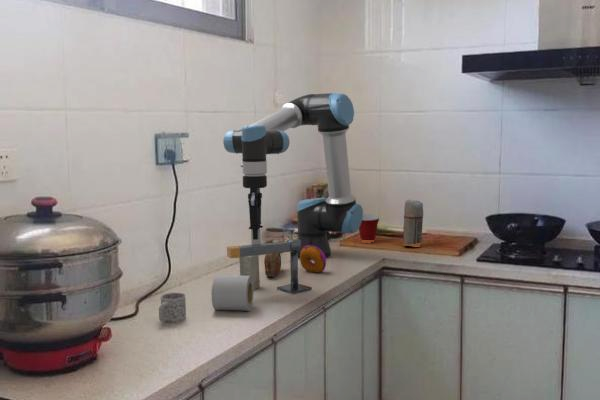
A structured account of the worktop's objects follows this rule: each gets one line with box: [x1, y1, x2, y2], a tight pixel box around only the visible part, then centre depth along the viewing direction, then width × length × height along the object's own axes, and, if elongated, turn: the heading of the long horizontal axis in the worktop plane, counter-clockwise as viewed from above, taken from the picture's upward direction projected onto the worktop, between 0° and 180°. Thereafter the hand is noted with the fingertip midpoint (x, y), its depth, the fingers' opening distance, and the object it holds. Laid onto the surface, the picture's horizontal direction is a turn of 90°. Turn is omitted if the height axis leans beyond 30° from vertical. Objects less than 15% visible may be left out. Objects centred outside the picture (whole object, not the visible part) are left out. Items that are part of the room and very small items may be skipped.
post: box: [276, 251, 313, 295], centre depth 206 cm, size 8×8×12 cm
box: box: [238, 255, 261, 290], centre depth 209 cm, size 5×4×11 cm
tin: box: [263, 253, 282, 278], centre depth 227 cm, size 15×3×8 cm, turn 168°
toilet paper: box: [211, 274, 255, 312], centre depth 186 cm, size 10×10×10 cm
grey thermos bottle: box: [402, 199, 424, 244], centre depth 273 cm, size 8×8×20 cm
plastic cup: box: [358, 213, 381, 240], centre depth 283 cm, size 11×11×12 cm
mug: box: [158, 292, 187, 324], centre depth 176 cm, size 10×7×7 cm
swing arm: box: [226, 238, 301, 259], centre depth 201 cm, size 24×4×3 cm, turn 116°
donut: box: [299, 245, 327, 273], centre depth 229 cm, size 8×9×10 cm
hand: (256, 248), depth 203 cm, fingers closed
